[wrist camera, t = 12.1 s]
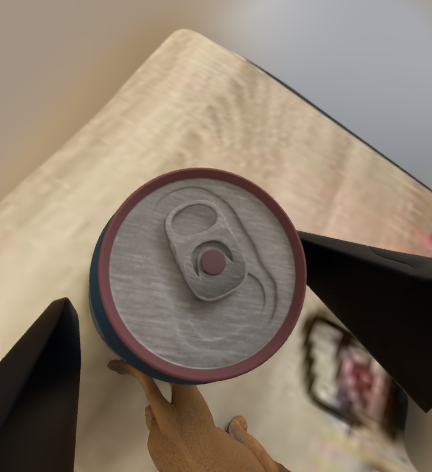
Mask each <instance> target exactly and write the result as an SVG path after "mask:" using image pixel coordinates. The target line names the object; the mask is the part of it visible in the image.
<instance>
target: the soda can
mask: <svg viewBox="0 0 432 472" xmlns="http://www.w3.org/2000/svg"><path fill="white" fill-rule="evenodd" d="M306 281H307V270H306V259H305V254H304V250H303V246H302V243H301V241H300V238H299V236H298V233H297V231H296V229H295V227H294V225H293V224H292V222H291V220H290V219H289V217H288V216H287V214H286V213H285V211H284V210H283V209H282V207H281V206H280V205H279V204H278V203H277V202H276V201H275V200H274V199H273V198H272V197H271V196H270V195H269V194H268V193H267V192H266V191H264V190H263V189H262V188H260V187H259V186H257V185H256V184H254V183H253V182H251V181H249V180H247V179H245V178H243V177H241V176H239V175H236V174H233V173H230V172H227V171H223V170H218V169H212V168H187V169H181V170H176V171H172V172H169V173H166V174H163V175H161V176H159V177H157V178H154V179H152V180H151V181H149V182H147V183H146V184H144V185H143V186H141V187H140V188H138V189H137V190H136V191H135V192H134V193H132V194H131V195H130V196H129V197H128V198H127V199H126V200H125V201H124V203H123V204H122V205H121V206H120V208H119V209H118V210H117V212H116V213H115V214H114V215H113V216H112V217H111V219H110V220H109V221H108V223H107V224H106V226H105V228H104V229H103V231H102V233H101V235H100V237H99V239H98V241H97V244H96V247H95V250H94V253H93V257H92V261H91V267H90V278H89V284H90V297H91V302H92V307H93V311H94V314H95V317H96V320H97V322H98V325H99V327H100V329H101V331H102V333H103V334H104V336H105V338H106V339H107V341H108V342H109V344H110V345H111V346H112V347H113V349H114V350H115V351H116V352H117V353H118V354H119V355H120V356H121V357H122V358H123V359H124V360H125V361H126V362H127V363H129V364H130V365H132V366H133V367H134V368H136V369H137V370H139V371H141V372H142V373H144V374H146V375H148V376H150V377H153V378H155V379H158V380H161V381H165V382H169V383H174V384H181V385H199V384H207V383H212V382H216V381H222V380H227V379H231V378H234V377H238V376H240V375H243V374H245V373H247V372H249V371H251V370H253V369H255V368H257V367H258V366H260V365H261V364H263V363H264V362H265V361H267V360H268V359H269V358H270V357H271V356H273V355H274V354H275V353H276V352H277V351H278V350H279V349H280V348H281V346H282V345H283V344H284V343H285V341H286V340H287V338H288V337H289V336H290V334H291V332H292V330H293V329H294V327H295V325H296V323H297V321H298V318H299V316H300V313H301V310H302V306H303V302H304V298H305V292H306Z"/></svg>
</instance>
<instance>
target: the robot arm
mask: <svg viewBox="0 0 432 472" xmlns="http://www.w3.org/2000/svg"><path fill="white" fill-rule="evenodd" d="M296 231H297V230H296ZM297 233H298V236H299V238H300V241H301V243H302V246H303V250H304V254H305V259H306V270H307V281H306V284H307V285H308V287H309V288H310V289H311V290H312V291H313V292H314V293H315V294H316V295H317V296H318V297H319V298H320V300H321V301H322V302H323V303H324V304H325V305H326V306H327V307H328V308H329V309H330V310H331V312H332V313H333V314H334V315H335V316H336V317H337V318H338V319H339V320H340V321H341V322H342V324H343V325H344V326H345V327H346V328H347V329H348V330H349V331H350V332H351V333H352V334H353V336H354V337H355V338H356V339H357V340H358V341H359V342H360V343H361V344H362V345H363V346H364V347H365V349H366V350H367V351H368V352H369V353H370V354H371V355H372V356H373V357H374V359H375V360H376V361H377V362H378V363H379V364H380V365H381V366H382V367H383V368H384V369H385V371H386V372H387V373H388V374H389V375H390V376H391V377H392V378H393V379H394V380H395V381H396V383H397V384H398V385H399V386H400V387H401V388H402V389H403V390H404V391H405V392H406V393H407V395H408V396H409V397H410V398H411V399H412V400H413V401H414V402H415V403H416V404H417V405H418V406H419V407H420V408H421V409H422V410H423V411H424V412H425V413H427V412H428V411H429V410H430V409H431V408H432V258H430V257H425V256H419V255H413V254H407V253H401V252H396V251H391V250H386V249H381V248H376V247H371V246H366V245H362V244H357V243H353V242H348V241H343V240H339V239H334V238H330V237H325V236H320V235H316V234H311V233H306V232H302V231H297ZM80 369H81V349H80V334H79V319H78V314H77V312H76V310H75V308H74V307H73V305H72V303H71V302H70V300H69V299H68V298H66V297H64V298H61V299H58V300H55V301H53V302H52V303H51V304H50V305H49V306H48V307H47V308H46V310H45V311H44V312H43V313H42V314H41V315H40V316H39V318H38V319H37V320H36V321H35V322H34V323H33V325H32V326H31V327H30V328H29V329H28V330H27V331H26V333H25V334H24V335H23V336H22V337H21V338H20V339H19V341H18V342H17V343H16V344H15V345H14V346H13V347H12V349H11V350H10V351H9V352H8V353H7V354H6V355H5V357H4V358H3V359H2V360H1V361H0V472H74V458H75V443H76V428H77V413H78V399H79V384H80Z"/></svg>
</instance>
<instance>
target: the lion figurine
mask: <svg viewBox="0 0 432 472" xmlns="http://www.w3.org/2000/svg"><path fill="white" fill-rule="evenodd" d="M107 367H108V368H109V369H110V370H113V371H116V372H117V373H119V374H131V375H134V376H136V377H137V378H138V379H139V381H140V382H141V384H142V385H143V388H144V390H145V392H146V395H147V398H148V400H149V402H150V405H148V406H147V407H146V409H145V418H146V424H147V428H148V429H149V430H150V434H149V439H148V444H147V445H148V450H149V453H150V455H151V458H152V460H153V462H154V464H155V466H156V467H157V469H158V471H159V472H291V471H289V470H287V469H286V468H285V467H284V466H283V465H282V464H279V463H277V462H275V461H273V459H272V458H271V457H270V456H269V455H268V453H267V452H266V450H265V449H264V448H263V446H262V445H261V444H260V443H259V442H258V440H256V439H255V438H254V437H253V436H251V435H249V434H248V433H247V423H246V420H245V418H244V417H243V416H238V417H236V418H234V419H233V420H232V421H231V423H230V425H229V433H230V435H229V434H228V433H227V432H225V431H224V430H222V429H220V428H218V427H216V426H215V425H214V422H213V418H212V415H211V413H210V410H209V408H208V406H207V404H206V402H205V400H204V398H203V397H202V395H201V394H200V392H199V391H198V389H197V387H196V385H181V384H174V383H169V384H170V386H171V389H172V390H171V392H172V398H171V403H169V402H168V401H167V400H166V399H165V398H164V397H163V395H162V393H161V392H160V390H159V389H158V387H157V385H156V383H155V382H154V381H153V379H152V378H151V377H150V376H148V375H146V374H144V373H142V372H141V371H139V370H137V369H136V368H134V367H133V366H132V365H130V364H128V363H126V362H125V361H124V360H122V359H121V360H116V359H114V360H111V361H109V363H108V364H107Z"/></svg>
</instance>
